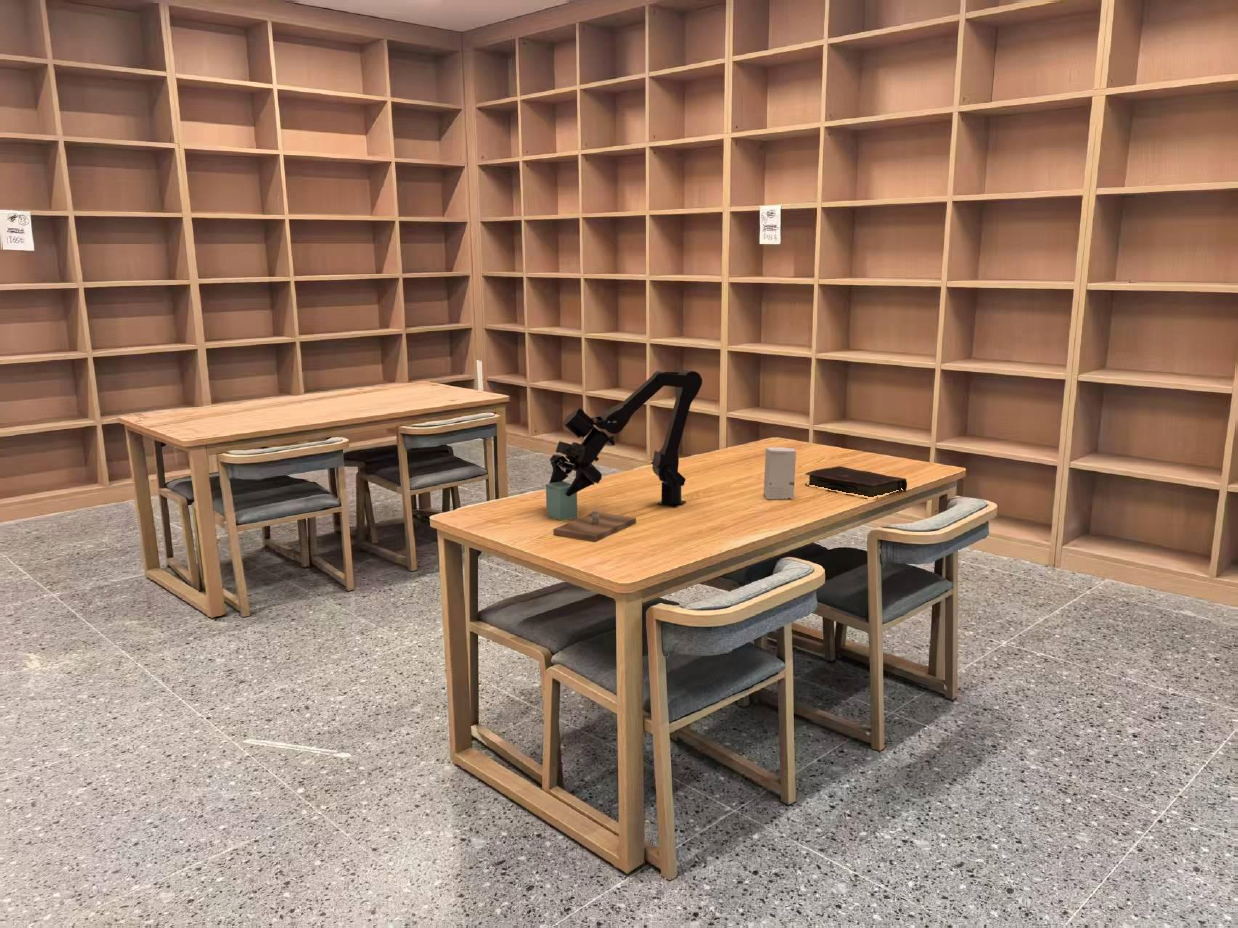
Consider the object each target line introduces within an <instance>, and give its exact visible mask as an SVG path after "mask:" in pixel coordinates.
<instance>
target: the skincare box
mask: <svg viewBox="0 0 1238 928" xmlns="http://www.w3.org/2000/svg"><path fill="white" fill-rule="evenodd" d="M764 457H765V458H764V480H763V496H764V495H765V496H764V497H765V498H767V499H766V500H768V499H770V500H789V499H788V498H793V499H794V497H795V495H794V492H795V477H796V460H797V459H796V458H797V450H796V449H795V448H793V447H771V446H770V447H765V455H764Z"/></svg>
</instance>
